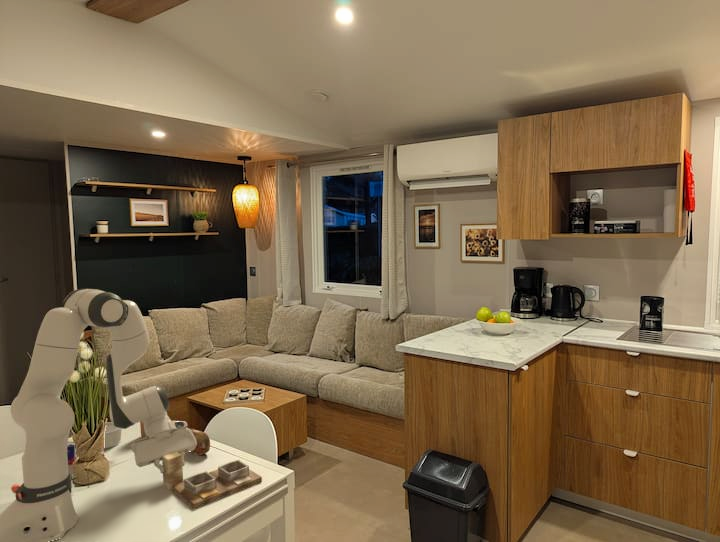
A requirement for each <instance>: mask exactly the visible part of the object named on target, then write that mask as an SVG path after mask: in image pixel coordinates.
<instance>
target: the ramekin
mask: <svg viewBox="0 0 720 542" xmlns="http://www.w3.org/2000/svg"><path fill="white" fill-rule="evenodd" d="M105 423H106V425H107V427H106V431H105V449H104V450H107V449H110V448H109V447H111V448H113V447H115V446H117V445H118V444H119V443H120V442H121V440H122V430H123V429H122V428H118V427H115V426H114V425H113V423H112V422H111V421H110V422H105ZM106 448H107V449H106Z"/></svg>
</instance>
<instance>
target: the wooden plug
mask: <svg viewBox="0 0 720 542" xmlns="http://www.w3.org/2000/svg"><path fill="white" fill-rule="evenodd" d="M161 465H162V466H166V469H167V471H166V472H165V473H162V482H163V485H164V486H165V487H166V488H167V487H168V488H167V489H168V490H172V486H173V485H176V484H179V483H181V482H184V474H183V469H184V468H183V466H182V455H181V454H180V453H178V452H174V453H171V454H168V455H164V456H163V457H162V461H161Z"/></svg>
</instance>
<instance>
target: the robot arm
mask: <svg viewBox="0 0 720 542" xmlns="http://www.w3.org/2000/svg"><path fill="white" fill-rule="evenodd" d="M88 326H89V327H97V328H107V329H108V332H109V336H110V338H111V343H112V347H111V350H110V353H109V354H108V355H106V360H105V367H106V368H105V369H106V380H107V389H108V398H109V411H108V412H109V419H110V422H112V423H113V425H114V426H115V427H118V428H122V430H123V429H124V430H126V429H128V428H130V427H132V426H134V425H135V424H138V423H140V422H141V421H142V422H143V424H144V430H145V433H146V436H147V437H141V438H138V439H137V438H136V439H134V440H133V441H132V442H131V443H130V449H131V452H132V453H134V454H133V456H134V461H135V464H136V466H137V467H138V468H142V467H145V466H149V465H152V464H153V465H154V467H155V468H157V469H158V470H159V471H160V474H162V475H163V473H165V472H166V471H167V469H166V466H162V463H161V462H162V457H163V456H164V455H168V454H171V453H174V452H178V453H180V454H181V455H182V467H185V465H186V463H185V461H184V459H185V455H186V454H187V453H190V452H189V451H193V450H194V449H195V447H196V445H197V441H196V438H195V436H194V434H193V433H192V431H191V430H190V429H191V428H189V427H188V423H187V421H184V420H171V418H170V417H169V415H168V411H169V409H170V406H171V402H170V399H169V398H168V396H167V392H166V389H165V388H164V387H162V386H159V385H153V386H150V387H147V388H144V389H142V390H140V391H138V392H134V393H132V394H129V395H126V396H124V394H123V388H122V387H123V386H122V376H123V373H124V372H125V371H126V370H127V369H128V368H129V367H130V366H131V365H133V364H134V363H135V362H137V361H138V360H139V359H141V358H142V357H143V356H144V355H145V354H146V352H147V351H148V349H149V346H150V343H151V342H150V341H151V340H150V335H149V330H148V326H147V323H146V321H145V319H144V317H143V315H142V312H141V309H140V308H139V306H138V304H137V303H136V302H134V301H133V300H130V299H129V300H128V299H126V300H125V299H122V298H121V297H120V296H119V295H117V294H115V293H114V292H110V291H109V292H108V291H104V290H100V289H96V288H95V289H94V288H78V289H74V290H72V291H71V292H69V293H68V294H67V295H66V297H65V298H64V300H63V302H62V303H61V304H60V305H59V306H58V307H55V308H52V309H50V310H49V311H48V312H47V313H46V314H45V316H44V318H43V320H42V322H41V323H40V327H39V330H38V332H37V335H36V340H35V342H34V348H33V350H32V351H33V352H32V355H31V360H30V364H29V367H28V371H27V374H26V376H25V379H24V380H23V383H22V385H21V388H20V390H19V392H18V394H17V396H16V397H15V398H14V399H13V401H12V402H11V405H10V414H11V417H12V420H13V421H14V423H15V424H16V425H17V426H19V427H21V428H22V429H24V432H25V439H26V441H25V448H24V452H23V455H22V456H21V468H22V479H23V482H22V484H21V485H19V483H18V484H17V483H15V484H13V485H12V486H11V487H10V490H11V491H12V493H13V494H15V495H14V496H15V500H13V502H11V503H10V504H9V505H8V506H7V507H6V508H5V509H4V510H3V511H1V513H0V542H48V541H52V540H56V539H59V538H61V537H62V536H64V535H65V534H66V533H65V532H66V531H67V530H68V531H70V530H71V529H72V528H73V527H74V526H75V525H76V524H77V523H78V521H79V516H78V513H77V512H76V509H75V506H74V502H73V498H72V488H73V487H72V486H73V485H72V480H71V476H70V474H69V472H68V457H67V445H68V442H69V438H70V431H71V430H72V428H73V426H74V424H75V421H76V420H75V419H76V418H75V417H76V415H75V413H74V411H73V408H72V407H71V406H70V404H69V403H68V402H67V401H66V400H63V399H61V395H62V392H63V390H64V387H65V385H66V384H67V382H68V381H69V379H70V378H71V377H72V376H73V373H74V371H75V367H76V361H77V356H78V352H79V347H80V343H81V337H82V335H83V332H84V330H85V329H86V328H88ZM70 528H71V529H70ZM68 531H67V532H68ZM64 533H65V534H64ZM62 538H63V537H62ZM62 538H61V539H62ZM59 540H60V539H59ZM56 541H57V540H56ZM52 542H53V541H52Z"/></svg>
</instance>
